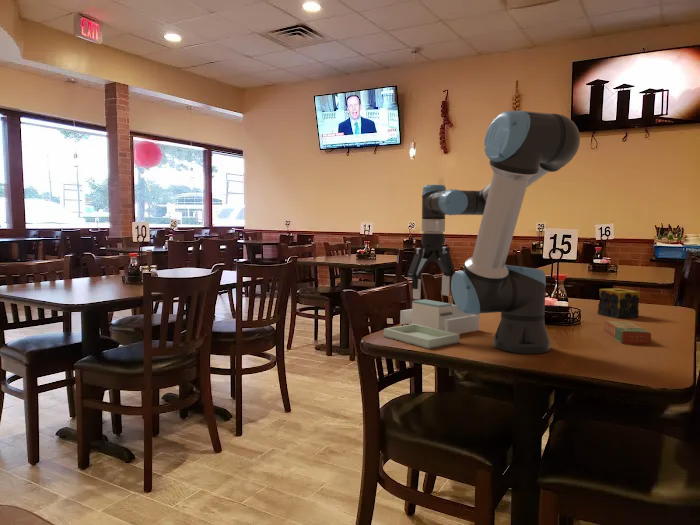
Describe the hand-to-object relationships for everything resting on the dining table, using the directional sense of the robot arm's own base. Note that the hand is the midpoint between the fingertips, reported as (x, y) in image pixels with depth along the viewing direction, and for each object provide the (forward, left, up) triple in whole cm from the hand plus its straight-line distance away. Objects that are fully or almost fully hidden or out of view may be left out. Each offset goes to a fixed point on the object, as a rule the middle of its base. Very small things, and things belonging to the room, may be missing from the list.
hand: (431, 297), depth 172 cm
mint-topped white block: (0, 0, -11) cm, 11 cm away
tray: (-9, +14, -11) cm, 20 cm away
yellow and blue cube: (-25, -76, -11) cm, 81 cm away
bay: (0, -3, -11) cm, 11 cm away
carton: (-45, -39, -11) cm, 61 cm away
